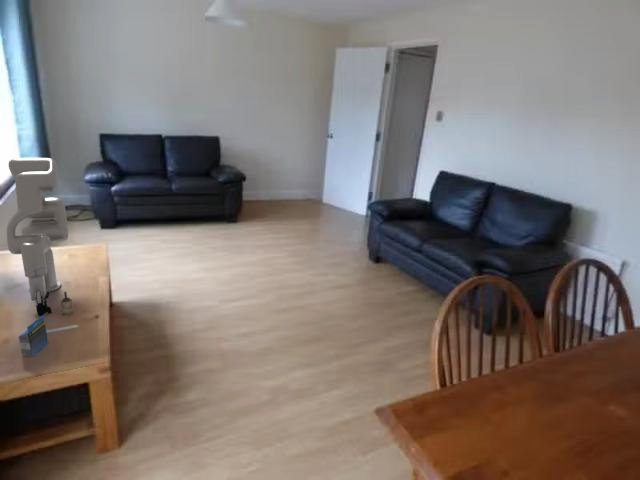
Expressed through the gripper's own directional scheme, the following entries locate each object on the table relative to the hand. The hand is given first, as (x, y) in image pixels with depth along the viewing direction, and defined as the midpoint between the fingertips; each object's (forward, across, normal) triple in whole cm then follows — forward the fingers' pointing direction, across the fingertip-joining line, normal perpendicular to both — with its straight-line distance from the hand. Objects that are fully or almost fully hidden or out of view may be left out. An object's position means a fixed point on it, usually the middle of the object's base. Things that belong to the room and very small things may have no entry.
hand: (42, 310), depth 173 cm
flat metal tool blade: (+2, +16, +6) cm, 17 cm away
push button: (+2, 0, 0) cm, 2 cm away
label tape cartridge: (+2, +27, -2) cm, 27 cm away
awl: (+2, +3, +9) cm, 10 cm away
